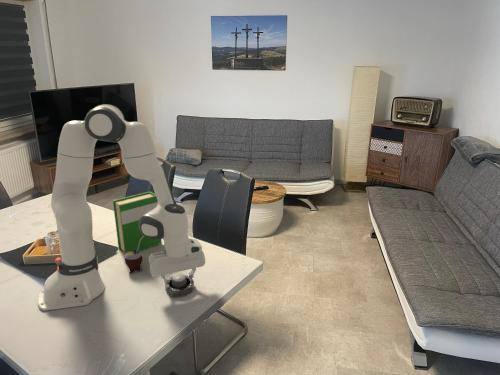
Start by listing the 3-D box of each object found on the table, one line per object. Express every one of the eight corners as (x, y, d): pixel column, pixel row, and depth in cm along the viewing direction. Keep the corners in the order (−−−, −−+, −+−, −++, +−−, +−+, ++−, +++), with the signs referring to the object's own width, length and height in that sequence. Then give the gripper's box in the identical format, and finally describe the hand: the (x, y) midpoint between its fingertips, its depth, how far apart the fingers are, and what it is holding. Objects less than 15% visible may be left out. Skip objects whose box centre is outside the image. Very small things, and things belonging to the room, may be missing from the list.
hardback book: (125, 255, 167) (119, 205, 159) (118, 249, 172) (112, 200, 164) (161, 243, 178) (157, 195, 170) (154, 237, 183) (150, 191, 175)
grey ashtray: (169, 299, 137) (169, 293, 137) (163, 284, 146) (162, 278, 145) (197, 292, 142) (196, 286, 141) (189, 278, 150) (189, 272, 150)
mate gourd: (122, 271, 155) (118, 239, 150) (134, 262, 162) (131, 230, 156) (137, 275, 152) (133, 242, 147) (149, 266, 159) (146, 234, 154)
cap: (174, 293, 140) (173, 282, 139) (170, 285, 145) (169, 275, 144) (188, 289, 143) (188, 279, 141) (184, 281, 147) (184, 271, 146)
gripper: (149, 257, 131) (152, 291, 136) (206, 246, 139) (207, 278, 144) (146, 249, 137) (149, 282, 141) (200, 238, 145) (202, 270, 149)
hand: (179, 280), depth 143 cm, fingers open, 8 cm apart
